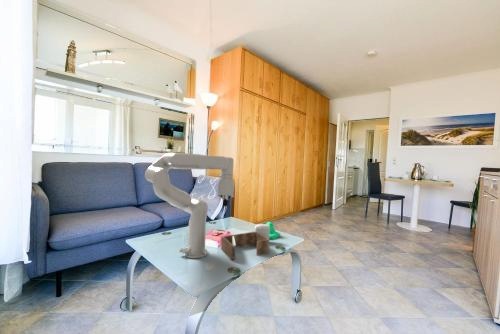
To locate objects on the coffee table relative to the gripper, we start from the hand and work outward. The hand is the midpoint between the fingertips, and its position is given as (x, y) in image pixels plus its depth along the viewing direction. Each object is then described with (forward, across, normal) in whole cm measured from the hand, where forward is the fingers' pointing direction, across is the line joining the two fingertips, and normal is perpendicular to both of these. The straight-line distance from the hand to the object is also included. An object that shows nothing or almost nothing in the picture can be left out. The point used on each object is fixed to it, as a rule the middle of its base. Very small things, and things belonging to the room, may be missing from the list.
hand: (225, 205), depth 137 cm
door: (+25, +10, -10) cm, 29 cm away
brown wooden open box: (+25, +14, -4) cm, 30 cm away
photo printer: (+25, +23, +12) cm, 36 cm away
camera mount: (+25, +28, +24) cm, 45 cm away
